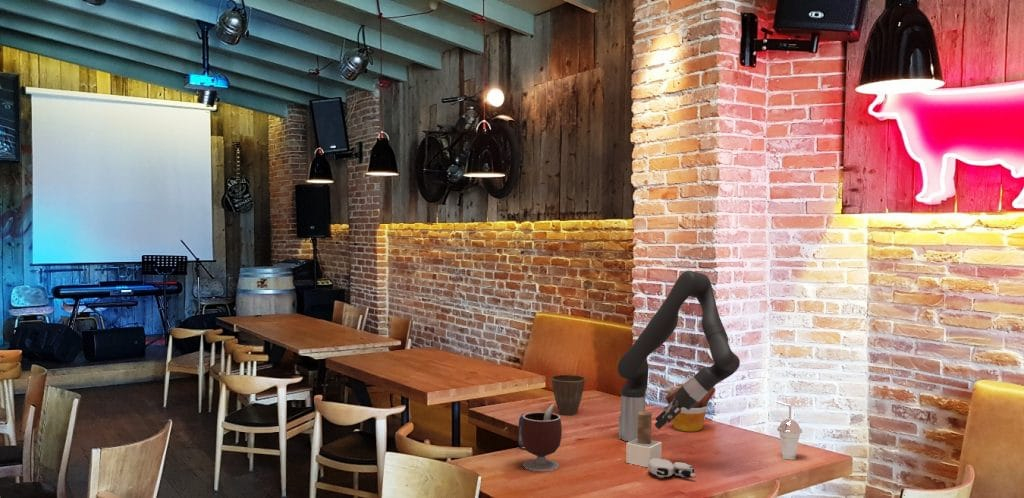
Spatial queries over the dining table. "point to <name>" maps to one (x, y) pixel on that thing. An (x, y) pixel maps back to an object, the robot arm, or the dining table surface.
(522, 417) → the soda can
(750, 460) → the dining table surface
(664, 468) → the robot toy
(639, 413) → the walnut block
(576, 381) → the plant pot
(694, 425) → the bucket of meat
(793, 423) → the cup with straw
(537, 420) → the mate gourd
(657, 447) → the block
